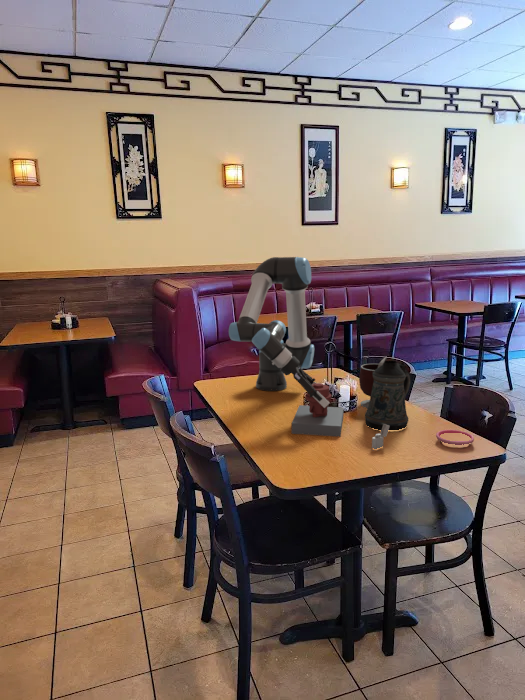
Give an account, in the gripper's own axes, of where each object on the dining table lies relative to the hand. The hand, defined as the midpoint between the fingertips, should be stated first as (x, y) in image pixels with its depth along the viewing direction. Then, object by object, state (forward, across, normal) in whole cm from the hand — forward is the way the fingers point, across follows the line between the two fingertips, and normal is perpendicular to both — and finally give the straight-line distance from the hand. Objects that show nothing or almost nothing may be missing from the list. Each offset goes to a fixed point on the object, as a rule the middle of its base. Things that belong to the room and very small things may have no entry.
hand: (325, 400), depth 198 cm
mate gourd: (+25, -26, +10) cm, 37 cm away
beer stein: (+24, -1, +10) cm, 26 cm away
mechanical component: (+3, 0, -6) cm, 7 cm away
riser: (+5, 0, -9) cm, 10 cm away
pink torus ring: (+38, +18, +24) cm, 49 cm away
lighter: (+19, +23, +5) cm, 30 cm away
